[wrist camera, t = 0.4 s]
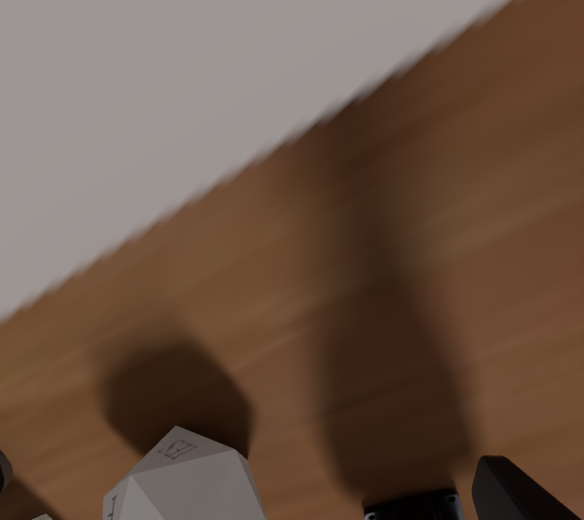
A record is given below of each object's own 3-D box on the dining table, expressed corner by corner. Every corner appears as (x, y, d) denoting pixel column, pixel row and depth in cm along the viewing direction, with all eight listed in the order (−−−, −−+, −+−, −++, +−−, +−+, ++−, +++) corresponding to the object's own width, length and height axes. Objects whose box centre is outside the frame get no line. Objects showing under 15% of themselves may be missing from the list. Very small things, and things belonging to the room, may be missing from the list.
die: (238, 376, 25) (72, 491, 17) (328, 510, 23) (187, 704, 15) (185, 422, 30) (40, 525, 22) (255, 533, 28) (123, 686, 20)
